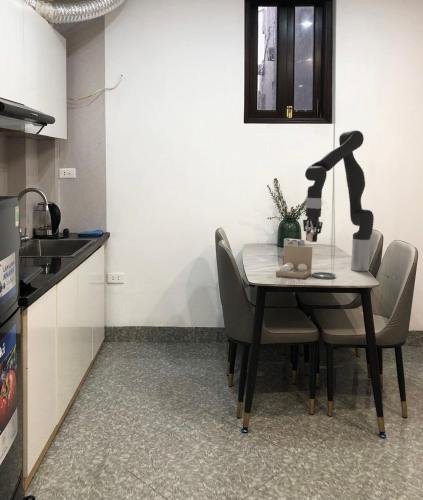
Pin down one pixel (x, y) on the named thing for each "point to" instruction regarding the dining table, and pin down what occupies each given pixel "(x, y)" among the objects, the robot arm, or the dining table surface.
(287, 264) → the white egg
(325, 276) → the slate saucer
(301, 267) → the white egg
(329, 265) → the dining table surface
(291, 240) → the candy bar box
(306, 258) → the egg carton
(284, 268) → the white egg
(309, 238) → the brown egg
